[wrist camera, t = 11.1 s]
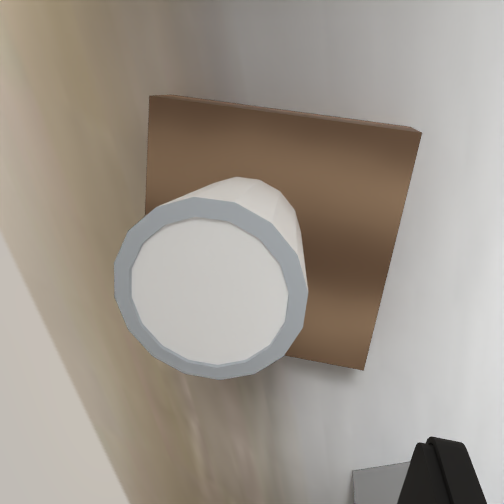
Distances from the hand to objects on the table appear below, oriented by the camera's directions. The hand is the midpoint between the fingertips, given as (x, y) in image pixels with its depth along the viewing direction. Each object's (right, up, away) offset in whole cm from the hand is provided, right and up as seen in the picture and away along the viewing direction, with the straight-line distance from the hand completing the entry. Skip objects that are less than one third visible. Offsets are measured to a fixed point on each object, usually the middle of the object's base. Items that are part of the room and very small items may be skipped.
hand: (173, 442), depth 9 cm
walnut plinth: (+3, +5, +16) cm, 17 cm away
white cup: (+1, +5, +13) cm, 14 cm away
